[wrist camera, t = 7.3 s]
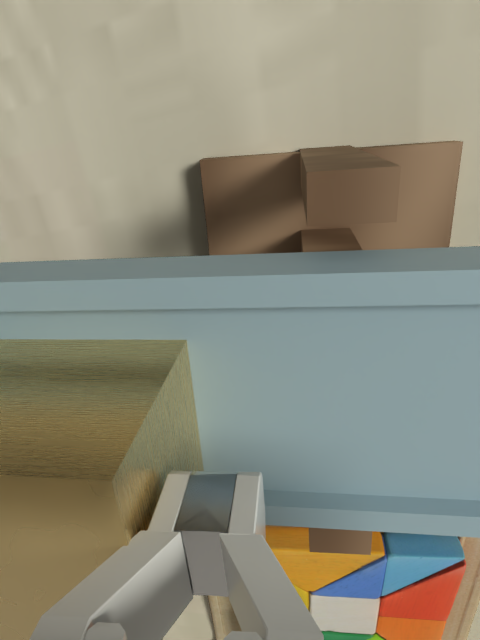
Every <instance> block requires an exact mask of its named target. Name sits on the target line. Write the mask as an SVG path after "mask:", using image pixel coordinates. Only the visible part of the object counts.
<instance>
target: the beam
mask: <svg viewBox="0 0 480 640" xmlns="http://www.w3.org/2000/svg"><path fill="white" fill-rule="evenodd" d="M0 339H60V340H187V346H188V353H189V361H190V369H191V376H192V384H193V391H194V399H195V407H196V414H197V422H198V429H199V437H200V445H201V452H202V460H203V468H204V471H208V472H261V473H262V477H263V490H264V502H265V525H277V526H293V527H310V528H326V529H343V530H360V531H376V532H393V533H409V534H426V535H442V536H459V537H475V538H480V246H473V247H444V248H414V249H385V250H356V251H326V252H297V253H267V254H238V255H209V256H179V257H150V258H121V259H91V260H62V261H33V262H3V263H0Z"/></svg>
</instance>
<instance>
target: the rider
mask: <svg viewBox="0 0 480 640" xmlns="http://www.w3.org/2000/svg"><path fill="white" fill-rule="evenodd" d="M171 470H173V471H204V468H203V460H202V452H201V445H200V437H199V429H198V422H197V414H196V407H195V399H194V391H193V384H192V376H191V369H190V361H189V353H188V346H187V340H60V339H0V640H29V639H30V637H31V635H32V633H33V632H34V630H35V628H36V626H37V624H38V622H39V620H40V618H41V616H42V615H43V614H44V613H45V612H47V611H48V610H49V609H50V608H51V607H52V606H54V605H55V604H56V603H57V602H58V601H59V600H61V599H62V598H63V597H64V596H65V595H66V594H67V593H69V592H70V591H71V590H72V589H73V588H74V587H76V586H77V585H78V584H79V583H80V582H81V581H83V580H84V579H85V578H86V577H87V576H88V575H90V574H91V573H92V572H93V571H94V570H95V569H96V568H98V567H99V566H100V565H101V564H102V563H103V562H105V561H106V560H107V559H108V558H109V557H110V556H112V555H113V554H114V553H115V552H116V551H117V550H119V549H120V548H121V547H122V546H128V544H129V542H130V540H131V538H132V537H134V536H135V535H136V534H137V533H138V532H139V531H147V530H148V527H149V524H150V521H151V519H152V516H153V513H154V510H155V508H156V505H157V502H158V500H159V497H160V494H161V491H162V489H163V486H164V483H165V480H166V478H167V475H168V474H169V473H170V472H171Z"/></svg>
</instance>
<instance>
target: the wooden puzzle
mask: <svg viewBox="0 0 480 640" xmlns="http://www.w3.org/2000/svg"><path fill="white" fill-rule="evenodd" d="M265 528H266V539H265V540H266V542H267V544H268V545H269V547H270V548H271V550H272V552H273V553H274V555H275V557H276V558H277V560H278V562H279V563H280V565H281V566H282V568H283V570H284V571H285V573H286V575H287V576H288V578H289V580H290V581H291V583H292V584H293V586H294V588H295V589H296V591H297V593H298V594H299V596H300V598H301V599H302V601H303V602H304V604H305V606H306V607H307V609H308V611H309V612H310V614H311V616H312V617H313V619H314V620H315V622H316V624H317V625H318V627H319V629H320V630H321V632H322V634H323V636H324V640H467V637H468V633H469V630H470V627H471V624H472V621H473V618H474V615H475V613H476V610H477V607H478V604H479V601H480V538H475V537H459V536H442V535H426V534H409V533H393V532H376V531H372V544H371V555H361V554H340V553H319V552H310V551H309V527H293V526H277V525H265ZM208 599H209V604H210V609H211V614H212V619H213V625H214V630H215V635H216V640H224V638H225V637H226V636H227V635H228V634H229V633H230V632H231V631H241V632H242V630H241V627H240V625H239V622H238V620H237V618H236V615H235V613H234V610H233V608H232V605H231V603H230V600H229V597H223V596H211V595H208Z"/></svg>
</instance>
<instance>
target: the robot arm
mask: <svg viewBox="0 0 480 640" xmlns="http://www.w3.org/2000/svg"><path fill="white" fill-rule="evenodd" d="M265 539H266V528H265V502H264V490H263V477H262V473H261V472H208V471H173V470H171V472H170V473H169V474H168V475H167V478H166V480H165V483H164V486H163V489H162V491H161V494H160V497H159V500H158V502H157V505H156V508H155V510H154V513H153V516H152V519H151V521H150V524H149V527H148V530H147V531H139V532H138V533H137V534H136V535H135V536H134V537H132V538H131V540H130V542H129V544H128V546H122V547H121V548H120V549H119V550H117V551H116V552H115V553H114V554H113V555H112V556H110V557H109V558H108V559H107V560H106V561H105V562H103V563H102V564H101V565H100V566H99V567H98V568H96V569H95V570H94V571H93V572H92V573H91V574H90V575H88V576H87V577H86V578H85V579H84V580H83V581H81V582H80V583H79V584H78V585H77V586H76V587H74V588H73V589H72V590H71V591H70V592H69V593H67V594H66V595H65V596H64V597H63V598H62V599H61V600H59V601H58V602H57V603H56V604H55V605H54V606H52V607H51V608H50V609H49V610H48V611H47V612H45V613H44V614H43V615H42V616H41V618H40V620H39V622H38V624H37V626H36V628H35V630H34V632H33V633H32V635H31V637H30V639H29V640H162V639H163V637H164V636H165V635H166V633H167V632H168V631H169V629H170V628H171V627H172V625H173V624H174V623H175V621H176V620H177V619H178V617H179V616H180V615H181V613H182V612H183V611H184V609H185V608H186V607H187V605H188V604H189V603H190V601H191V600H192V599H193V595H211V596H223V597H229V600H230V603H231V605H232V608H233V610H234V613H235V615H236V618H237V620H238V622H239V625H240V627H241V630H242V632H241V631H231V632H230V633H229V634H228V635H227V636H226V637H225V638H224V640H324V636H323V634H322V632H321V630H320V629H319V627H318V625H317V624H316V622H315V620H314V619H313V617H312V616H311V614H310V612H309V611H308V609H307V607H306V606H305V604H304V602H303V601H302V599H301V598H300V596H299V594H298V593H297V591H296V589H295V588H294V586H293V584H292V583H291V581H290V580H289V578H288V576H287V575H286V573H285V571H284V570H283V568H282V566H281V565H280V563H279V562H278V560H277V558H276V557H275V555H274V553H273V552H272V550H271V548H270V547H269V545H268V544H267V542H266V540H265Z"/></svg>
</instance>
